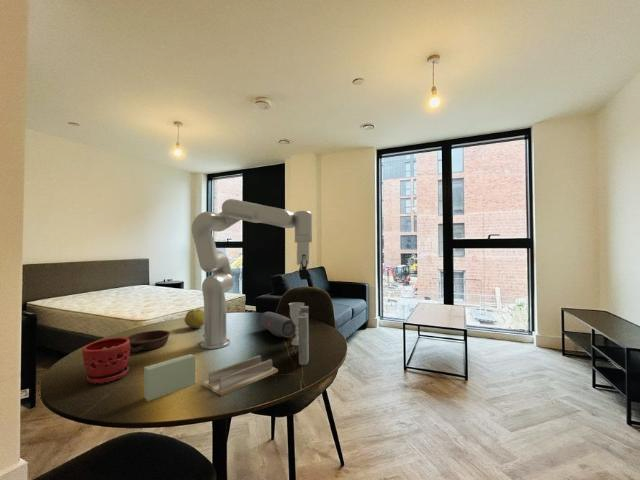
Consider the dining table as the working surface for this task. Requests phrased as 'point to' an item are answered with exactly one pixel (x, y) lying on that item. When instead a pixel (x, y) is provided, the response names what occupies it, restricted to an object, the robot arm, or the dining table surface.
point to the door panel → (169, 376)
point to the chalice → (295, 318)
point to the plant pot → (106, 359)
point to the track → (239, 375)
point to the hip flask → (303, 335)
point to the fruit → (195, 318)
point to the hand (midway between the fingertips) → (303, 278)
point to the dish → (148, 340)
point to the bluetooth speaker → (278, 324)
